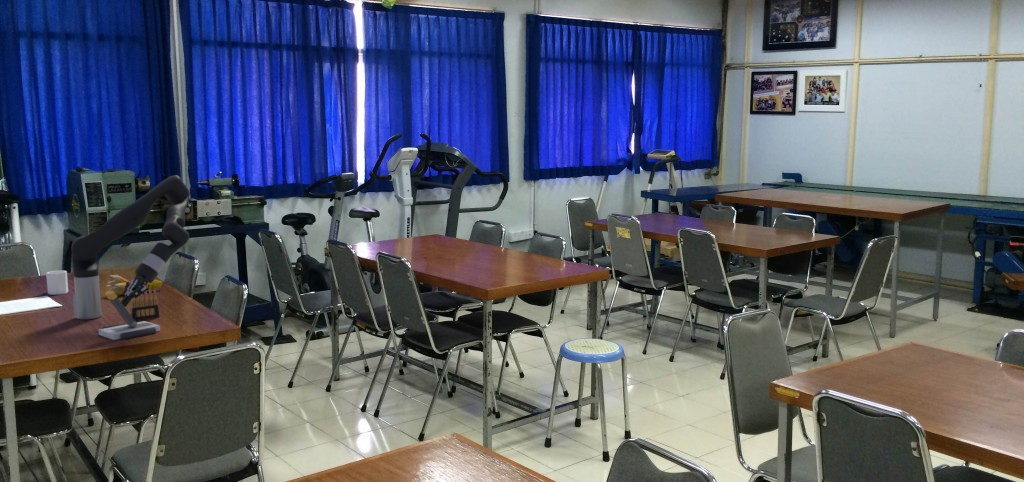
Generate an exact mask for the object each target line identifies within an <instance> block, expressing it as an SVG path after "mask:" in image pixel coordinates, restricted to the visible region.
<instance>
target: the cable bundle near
mask: <svg viewBox="0 0 1024 482" xmlns="http://www.w3.org/2000/svg"><path fill="white" fill-rule="evenodd" d="M156 332H157V331H156V329H155V327H152V328H147V329H142V330H137V331H131V332H126V333H122V334H121V335H120V337H121V339H122V340H127V339H131V338H135V337H141V336H146V335H151V334H156Z"/></svg>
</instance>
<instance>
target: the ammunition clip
mask: <svg viewBox="0 0 1024 482" xmlns="http://www.w3.org/2000/svg"><path fill="white" fill-rule="evenodd" d="M157 296H158V295H157V290H156V289H155V288H154V289H153V290H151V289H149V290H147V291H145V292H144V293H142V294H141V295H140V296H138V297H137V298H133V299H131V301H130V315H131V316H132V318H133V319H134V320H135V321H139V320H147V319H154V318H160V310H159V303H158V297H157Z"/></svg>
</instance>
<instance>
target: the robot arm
mask: <svg viewBox="0 0 1024 482" xmlns="http://www.w3.org/2000/svg"><path fill="white" fill-rule="evenodd" d="M190 194H191V192H190V189H189V188H188V187H187V185H186V184H185V182H184V180H182V178H181V177H180V176H179V175H177V174H175V175H171V176H168V177H167V178H165V179H164V180H162V181H161V182H160V183H158V184H157V185H156V186H154V187H153V188H152V189H151V190H149V191H148V192H146V194H144V195H142V196H141V197H139V198H138V199H137V200H135V201H133V202H132V203H130V204H128V205H127V206H126V207H124V208H122V209H121V210H119V211H118V212H116V213H115V214H114V215H113V216H111V217H110V218H109V219H108V220H107V221H106V222H105V223H104V224H103V225H102V226H100V227H99V228H98V229H96V230H94V231H92V232H91V233H89V234H87V235H80V236H78V237H77V238H75V239H74V240H73V241H72V242H71V243H72V244H71V257H72V258H71V261H72V271H73V273H72V274H73V281H74V294H73V295H72V300H73V313H74V319H78V320H93V319H98V318H102V316H103V315H102V302H101V289H100V287H101V286H100V275H99V273H100V272H99V263H98V254H99V253H100V252H101V251H102V250H104V249H105V248H106V247H107V246H108V245H110V244H111V243H112V242H115V241H116V240H119V239H120V238H122V237H123V236H125V235H127V234H129V233H130V232H132V231H134V230H136V229H137V228H138V227H140V226H141V225H143V224H144V223H145V222H146V220H147V219H148V216H149V215H150V212H151V210H152V209H153V208H154V207H153V206H154V205H155V204H156V202H157V201H158V200H159V199H160V198H161V197H163V196H165V198H166V199H167V200H168V202H170V203H171V206H170V207H168V209H167V212H166V214H165V215H166V217H165V218H166V221H165V223H164V225H163V227H162V229H161V234H162V236H163V237H164V238H166V239H167V240H168V241H169V242H170V244H169V245H168V244H165V243H164V242H157V243H156V244H155V245H154V246H153V248H152V249H151V251H150V252H148V254H147V255H146V256H145V257H144V259H142V261H141V262H140V263H139V266H137V268H136V269H135V271H134V274H135V276H134V277H133V278H134V279H133V278H132V279H133V280H132V279H131V280H132V281H131V280H130V283H129V282H127V283H126V286H125V289H124V294H123V295H124V297H123V298H122V300H120V301H121V303H122V304H123V305H124V307H125V308H126V307H127V306H128V304H129V303H131V299H133V298H134V299H135V298H137V297H140V295H141V294H142V293H143V294H144V292H145V291H146V290H147V288H146V285H147V283H152V282H153V281H154V280H156V278H157V277H158V275H159V274H160V272H162V270H163V269H164V267H165V265H166V264H167V262H168V261H169V259H170V258H171V257H172V256H173V255H174V254H175V253H176V252H177V251H178V250H179V249H181V248H182V247H183V246H185V245H186V244H187V243H188V242H189V239H190V233H189V232H188V231H187V230H186V229H185V228H184V227H185V225H186V210H187V207H188V203H189V200H190V196H191V195H190ZM147 291H148V290H147Z"/></svg>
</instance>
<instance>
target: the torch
mask: <svg viewBox="0 0 1024 482" xmlns="http://www.w3.org/2000/svg"><path fill="white" fill-rule="evenodd" d="M109 276H110V277H111V278H113V279H114V280H111V281H108V282H106V283H107V285H106V287H109V288H110V289H109V290H110V291H113V292H114V293H115V294H116V295H117V297H118V296H122V295H125V294H124V289H125V286H126V283H127V282H129V283H130V282H131V281H132V280H133V279H134V278H135V277H132V279H131V280H128V279H126V278H124V277H123V276H121V275H118V274H109ZM162 286H163V281H162V280H158V279H154V281H153V282H152V283H147V285H146V288H147V290H146V291H147V292H148V291H149V289H151V291H154V288H155V290H156V289H159V288H161V287H162Z"/></svg>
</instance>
